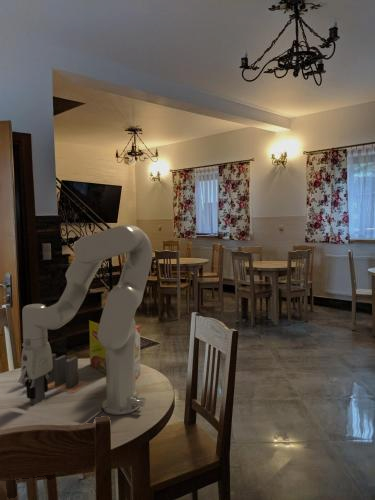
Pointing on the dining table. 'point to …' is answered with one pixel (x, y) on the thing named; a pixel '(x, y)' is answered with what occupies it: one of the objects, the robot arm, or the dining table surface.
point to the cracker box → (137, 353)
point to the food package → (96, 348)
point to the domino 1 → (38, 390)
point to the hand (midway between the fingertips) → (37, 394)
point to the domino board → (63, 387)
